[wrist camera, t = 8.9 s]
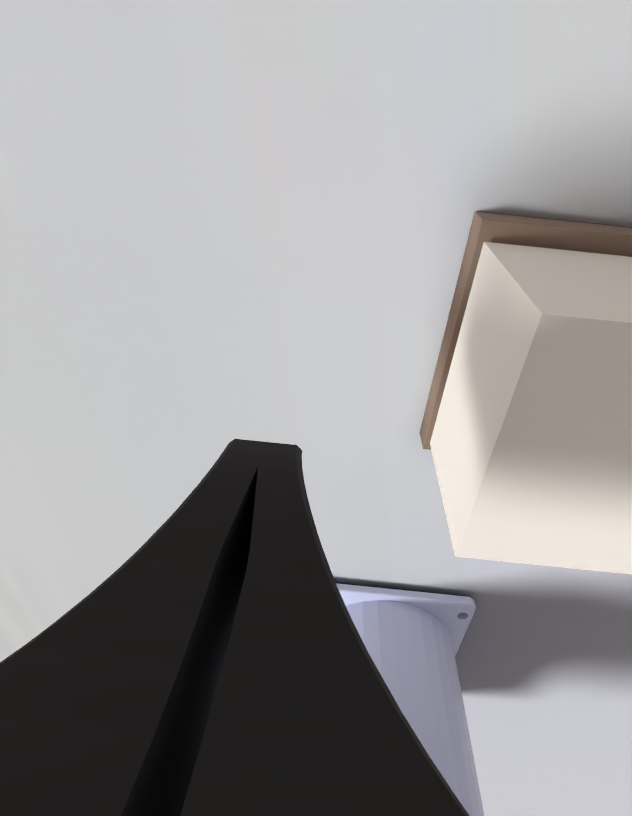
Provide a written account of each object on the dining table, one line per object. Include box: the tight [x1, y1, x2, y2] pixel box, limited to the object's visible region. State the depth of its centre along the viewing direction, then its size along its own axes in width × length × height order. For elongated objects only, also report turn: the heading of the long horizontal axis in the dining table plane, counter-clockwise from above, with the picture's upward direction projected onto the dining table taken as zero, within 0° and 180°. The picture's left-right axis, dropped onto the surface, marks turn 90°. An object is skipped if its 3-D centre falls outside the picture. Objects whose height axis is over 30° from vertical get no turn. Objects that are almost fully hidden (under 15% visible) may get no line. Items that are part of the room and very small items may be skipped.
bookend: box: [430, 242, 632, 574], centre depth 14 cm, size 7×8×5 cm
